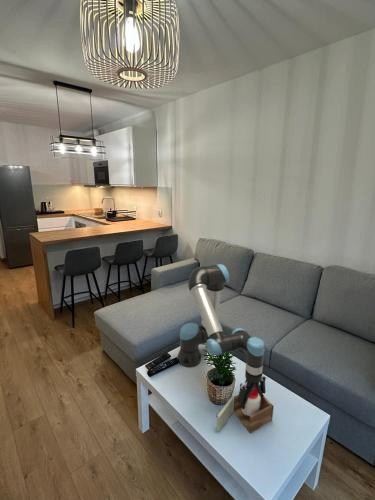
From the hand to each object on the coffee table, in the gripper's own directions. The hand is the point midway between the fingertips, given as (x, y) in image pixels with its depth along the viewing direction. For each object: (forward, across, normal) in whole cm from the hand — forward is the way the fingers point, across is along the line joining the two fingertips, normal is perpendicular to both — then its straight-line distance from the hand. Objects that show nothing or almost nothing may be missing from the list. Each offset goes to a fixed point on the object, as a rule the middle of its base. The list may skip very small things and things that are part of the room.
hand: (250, 409), depth 127 cm
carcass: (+5, +1, 0) cm, 5 cm away
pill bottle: (0, 0, 0) cm, 0 cm away
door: (+5, -12, +5) cm, 14 cm away
